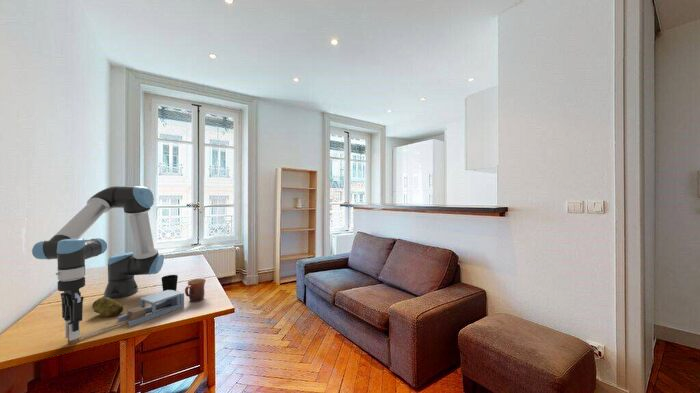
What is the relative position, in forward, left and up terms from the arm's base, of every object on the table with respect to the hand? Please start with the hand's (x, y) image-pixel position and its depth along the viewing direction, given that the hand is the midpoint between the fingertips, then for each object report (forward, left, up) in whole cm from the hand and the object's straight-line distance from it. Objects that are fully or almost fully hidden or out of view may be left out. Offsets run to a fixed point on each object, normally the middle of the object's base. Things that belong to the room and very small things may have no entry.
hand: (72, 337), depth 105 cm
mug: (+3, +48, -2) cm, 48 cm away
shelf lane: (0, +28, -2) cm, 28 cm away
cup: (-13, +44, -2) cm, 46 cm away
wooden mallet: (0, +11, -2) cm, 11 cm away
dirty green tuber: (-18, +18, -2) cm, 25 cm away
